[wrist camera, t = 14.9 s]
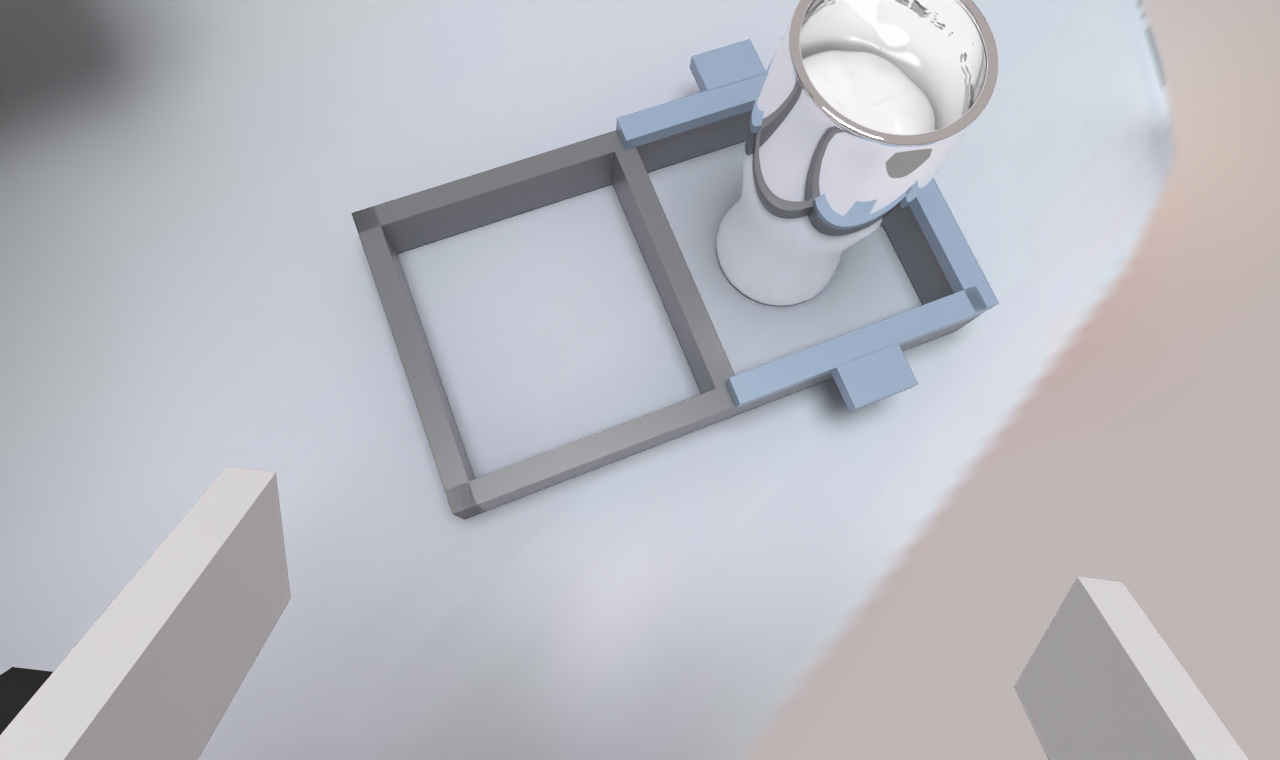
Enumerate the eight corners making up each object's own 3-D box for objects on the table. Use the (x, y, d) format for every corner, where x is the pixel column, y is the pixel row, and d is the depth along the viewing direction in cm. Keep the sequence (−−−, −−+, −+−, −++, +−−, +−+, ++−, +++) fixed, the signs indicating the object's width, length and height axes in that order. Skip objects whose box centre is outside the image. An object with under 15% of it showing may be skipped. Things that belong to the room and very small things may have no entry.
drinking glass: (872, 273, 38) (1051, 87, 23) (756, 341, 37) (869, 189, 22) (794, 162, 39) (918, -80, 25) (680, 224, 38) (738, 7, 23)
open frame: (357, 205, 37) (332, 165, 33) (822, 61, 41) (845, 10, 37) (479, 562, 33) (465, 561, 30) (977, 366, 37) (1020, 343, 33)
